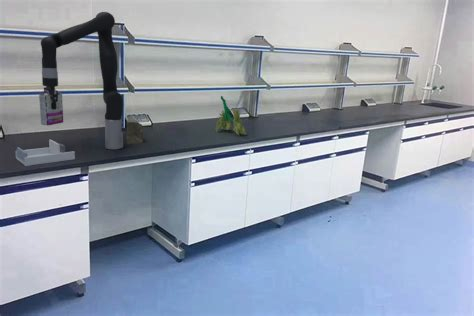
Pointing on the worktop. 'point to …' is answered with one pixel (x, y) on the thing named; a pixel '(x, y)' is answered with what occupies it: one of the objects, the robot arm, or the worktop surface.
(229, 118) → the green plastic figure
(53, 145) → the pusher
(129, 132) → the stone block
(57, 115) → the candy bar box
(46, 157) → the grey shallow tray
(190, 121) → the worktop surface
